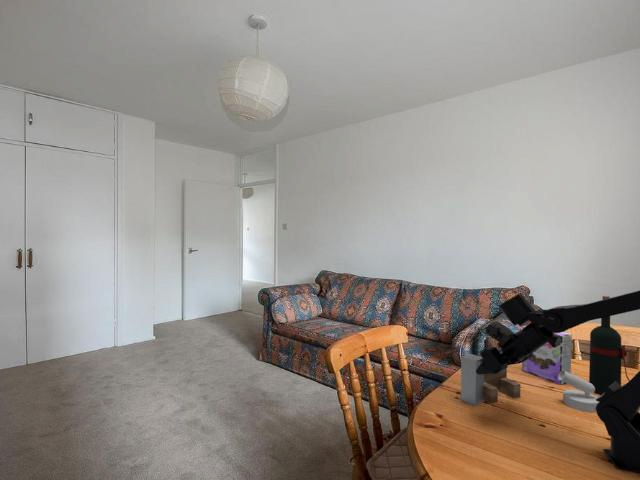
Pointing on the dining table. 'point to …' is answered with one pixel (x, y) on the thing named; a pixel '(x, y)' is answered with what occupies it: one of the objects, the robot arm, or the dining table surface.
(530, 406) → the dining table surface
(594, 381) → the wine bottle
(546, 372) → the candy box
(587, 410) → the wall hook
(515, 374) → the dining table surface
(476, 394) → the grey square pillar
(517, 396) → the bench
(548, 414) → the dining table surface
